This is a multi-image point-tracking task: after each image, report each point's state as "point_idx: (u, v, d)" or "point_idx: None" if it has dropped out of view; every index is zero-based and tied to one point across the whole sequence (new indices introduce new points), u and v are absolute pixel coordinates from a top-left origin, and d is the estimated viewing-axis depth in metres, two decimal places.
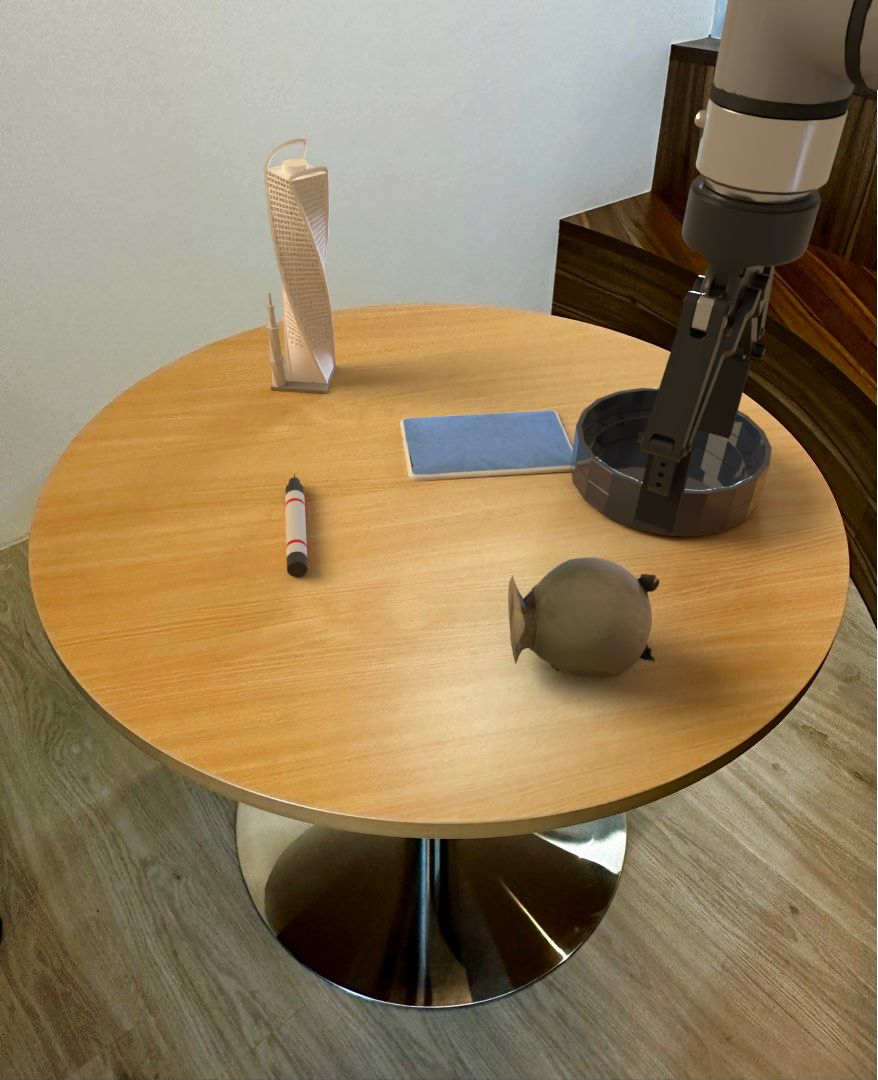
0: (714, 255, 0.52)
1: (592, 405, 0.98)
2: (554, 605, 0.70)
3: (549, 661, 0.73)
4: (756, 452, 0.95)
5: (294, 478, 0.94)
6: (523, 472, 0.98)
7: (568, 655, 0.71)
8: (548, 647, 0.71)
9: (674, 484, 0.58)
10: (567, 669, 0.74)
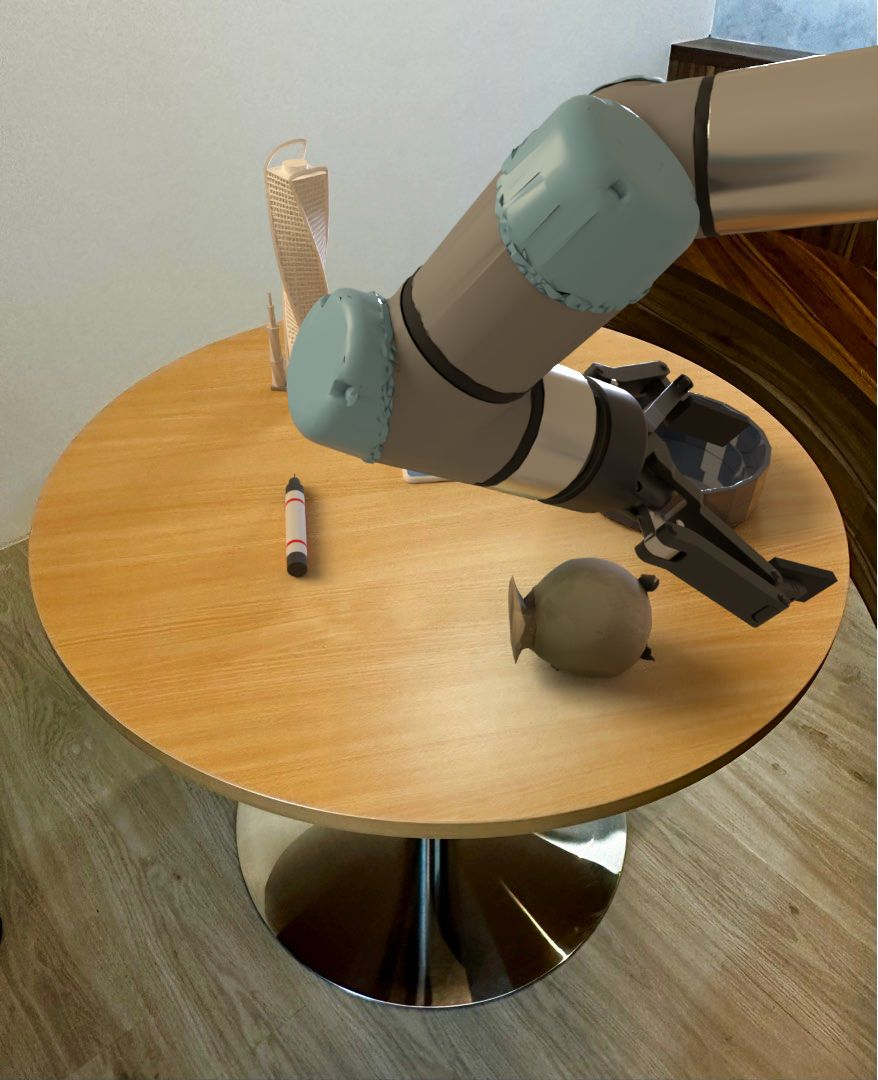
0: (608, 507, 0.50)
1: None
2: (554, 605, 0.70)
3: (549, 661, 0.73)
4: (756, 452, 0.95)
5: (294, 478, 0.94)
6: None
7: (568, 656, 0.71)
8: (548, 647, 0.71)
9: (797, 578, 0.55)
10: (567, 669, 0.74)
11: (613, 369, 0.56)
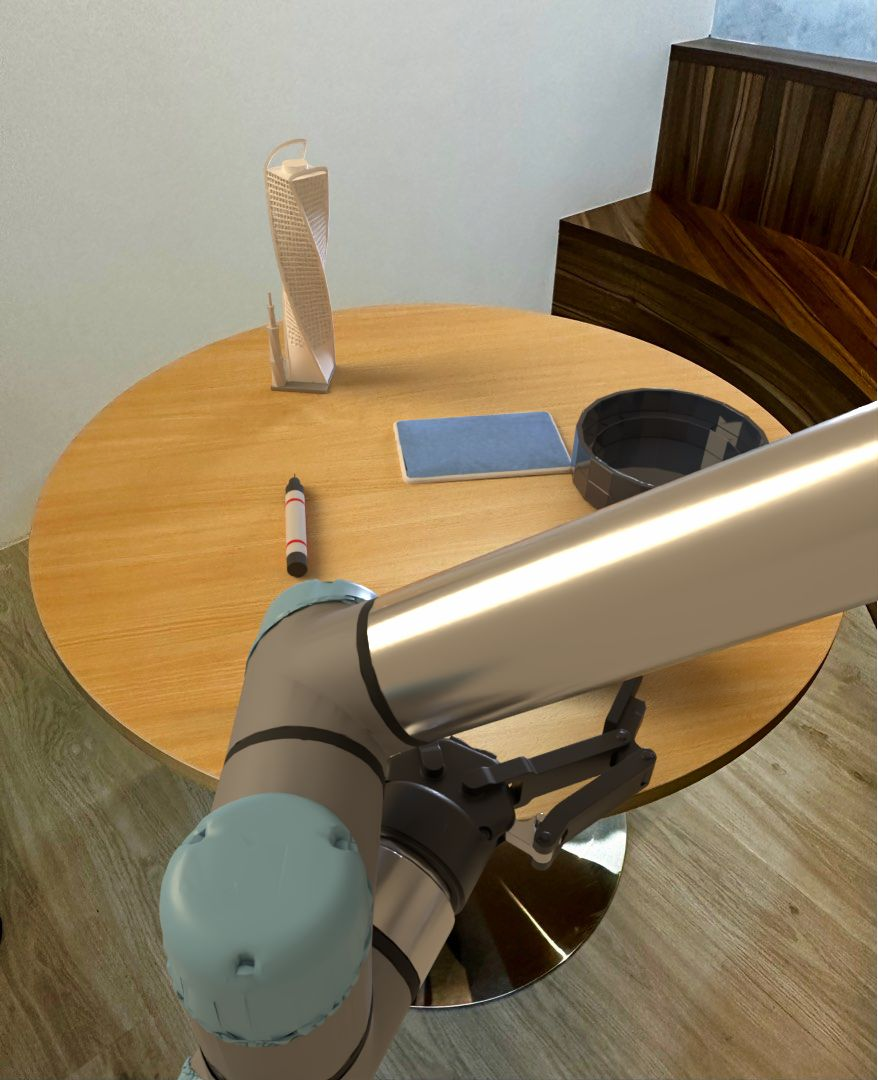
0: (485, 865, 0.49)
1: (592, 405, 0.98)
2: None
3: None
4: None
5: (294, 478, 0.94)
6: (518, 474, 0.98)
7: None
8: None
9: (629, 700, 0.57)
10: None
11: None
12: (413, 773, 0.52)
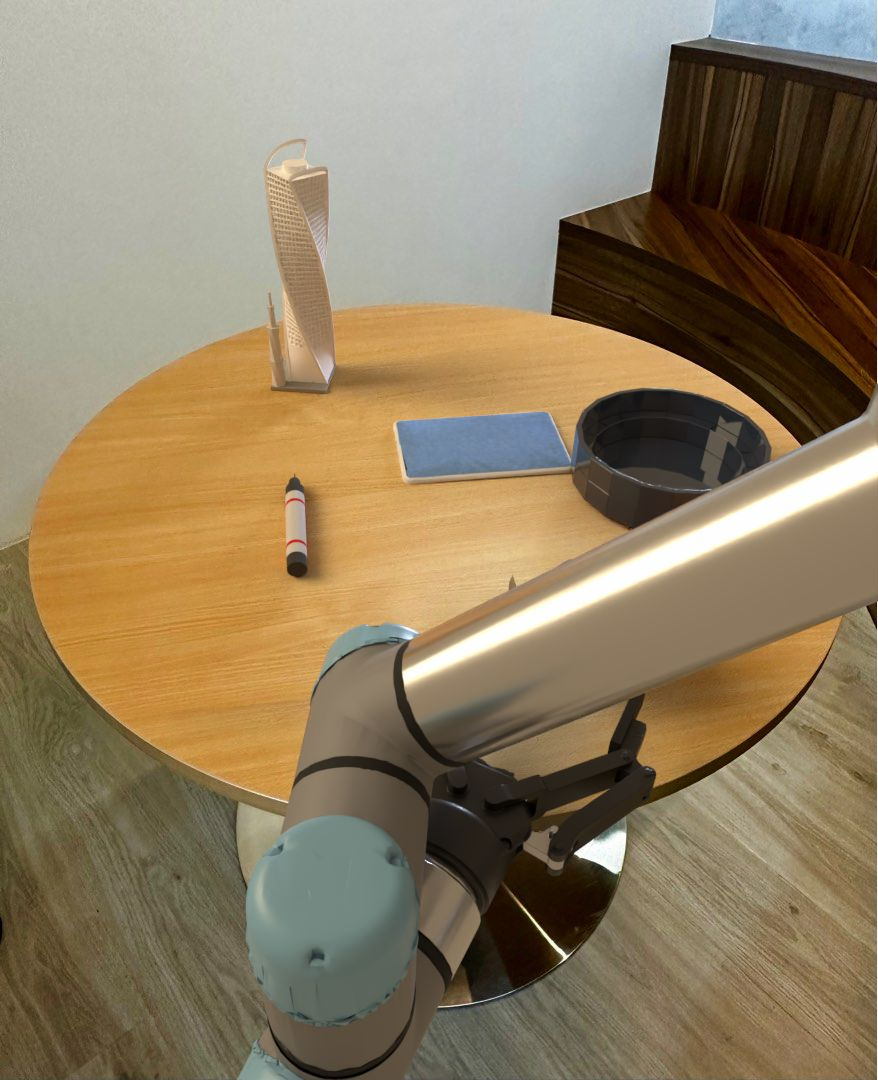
0: None
1: (592, 405, 0.98)
2: None
3: None
4: (756, 452, 0.95)
5: (294, 478, 0.94)
6: (518, 474, 0.98)
7: None
8: None
9: (631, 722, 0.63)
10: None
11: None
12: (440, 790, 0.58)
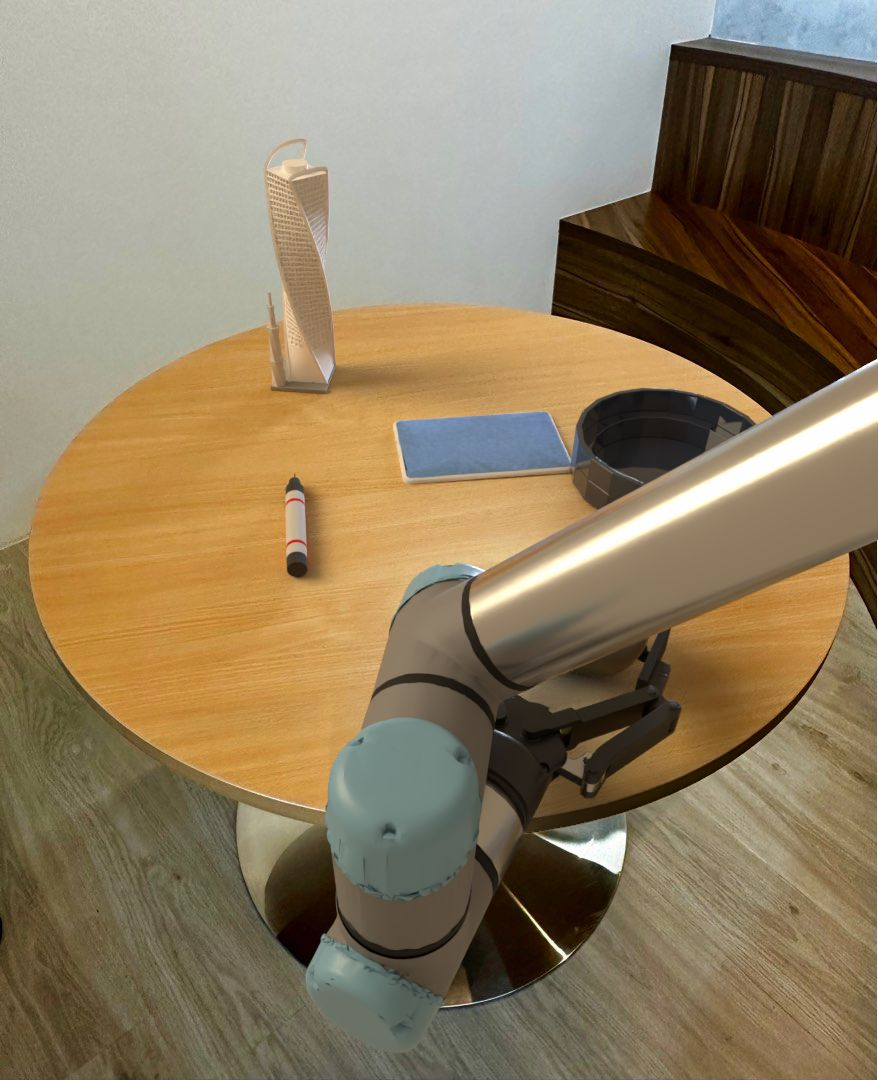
0: None
1: (592, 405, 0.98)
2: None
3: None
4: None
5: (294, 478, 0.94)
6: (517, 474, 0.98)
7: None
8: None
9: (656, 663, 0.68)
10: None
11: None
12: None
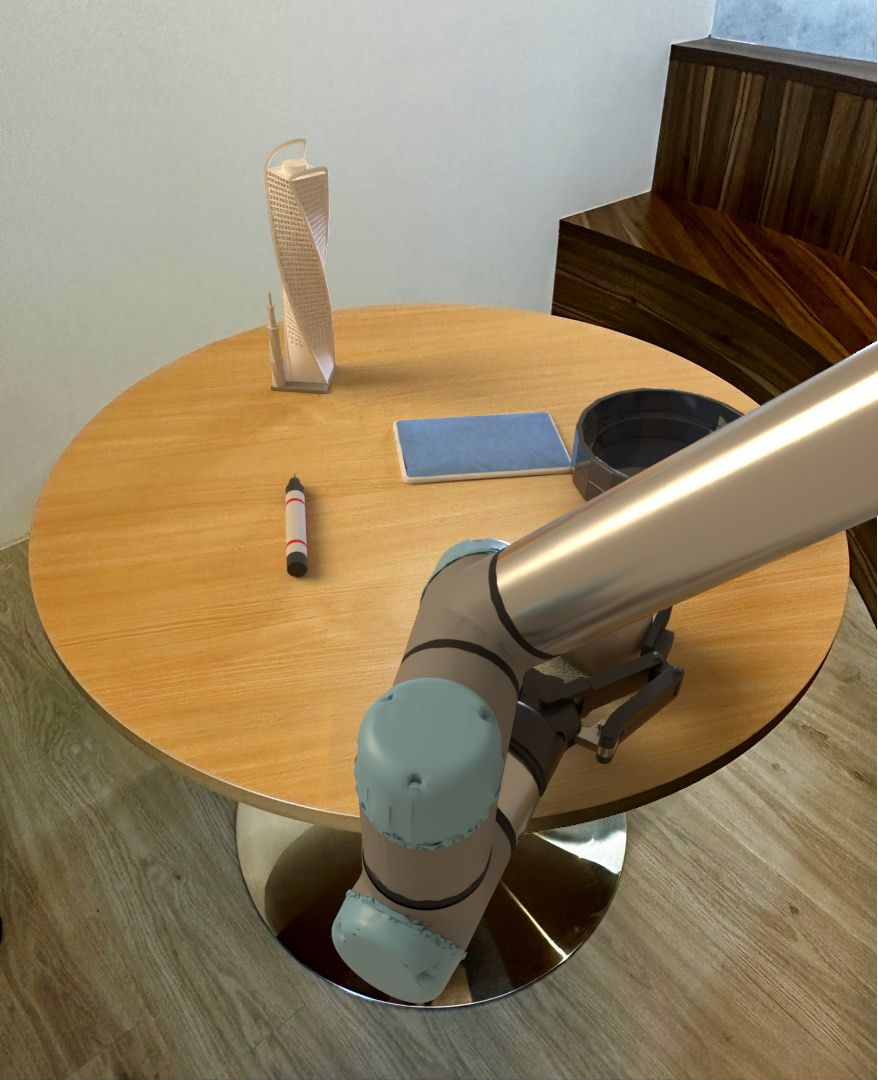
0: None
1: (592, 405, 0.98)
2: None
3: None
4: None
5: (294, 478, 0.94)
6: (518, 474, 0.98)
7: None
8: None
9: (661, 631, 0.70)
10: None
11: None
12: None
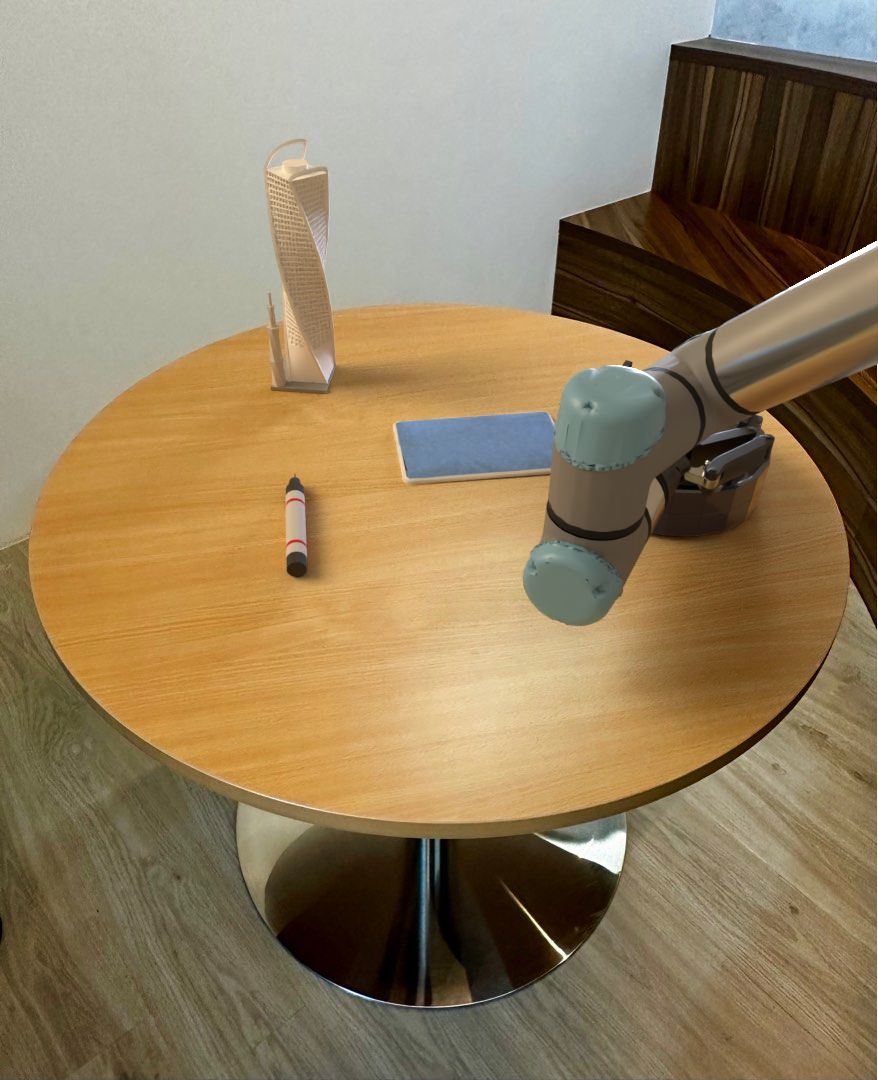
0: None
1: None
2: None
3: None
4: None
5: (294, 478, 0.94)
6: (518, 474, 0.98)
7: None
8: None
9: (751, 415, 0.88)
10: None
11: None
12: None
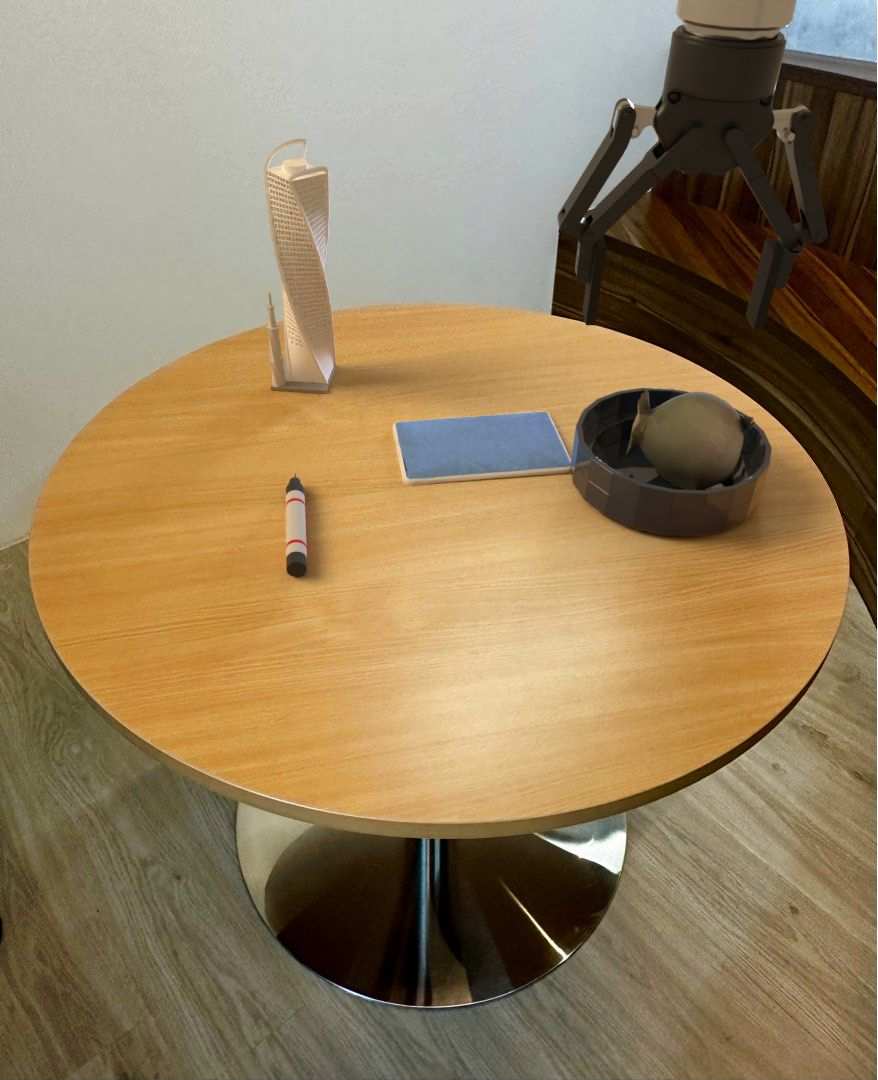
0: None
1: (592, 405, 0.98)
2: (664, 414, 0.92)
3: (651, 461, 0.94)
4: (756, 452, 0.95)
5: (294, 478, 0.94)
6: (518, 474, 0.98)
7: (661, 455, 0.92)
8: (650, 445, 0.93)
9: (590, 277, 0.70)
10: (664, 474, 0.95)
11: (808, 145, 0.63)
12: (746, 123, 0.62)
